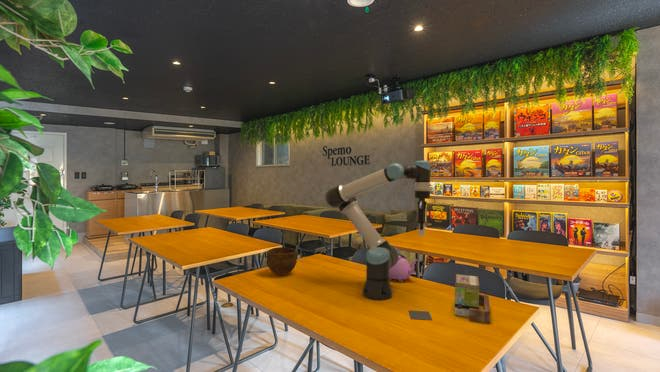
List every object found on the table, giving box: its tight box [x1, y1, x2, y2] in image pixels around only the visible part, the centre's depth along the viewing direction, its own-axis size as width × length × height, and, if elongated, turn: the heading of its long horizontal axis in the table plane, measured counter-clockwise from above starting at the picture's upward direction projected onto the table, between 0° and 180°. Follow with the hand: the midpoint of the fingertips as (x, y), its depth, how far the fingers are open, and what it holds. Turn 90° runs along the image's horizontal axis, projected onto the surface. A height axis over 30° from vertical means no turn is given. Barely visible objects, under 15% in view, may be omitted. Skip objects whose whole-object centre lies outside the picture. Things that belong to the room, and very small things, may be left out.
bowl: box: [266, 246, 298, 275], centre depth 210 cm, size 19×19×15 cm
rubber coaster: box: [408, 309, 433, 321], centre depth 149 cm, size 9×9×1 cm
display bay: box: [468, 293, 491, 324], centre depth 153 cm, size 8×22×5 cm, turn 157°
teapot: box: [389, 255, 418, 283], centre depth 201 cm, size 22×16×14 cm
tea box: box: [454, 273, 480, 318], centre depth 155 cm, size 15×10×15 cm, turn 159°
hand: (421, 235), depth 176 cm, fingers closed
